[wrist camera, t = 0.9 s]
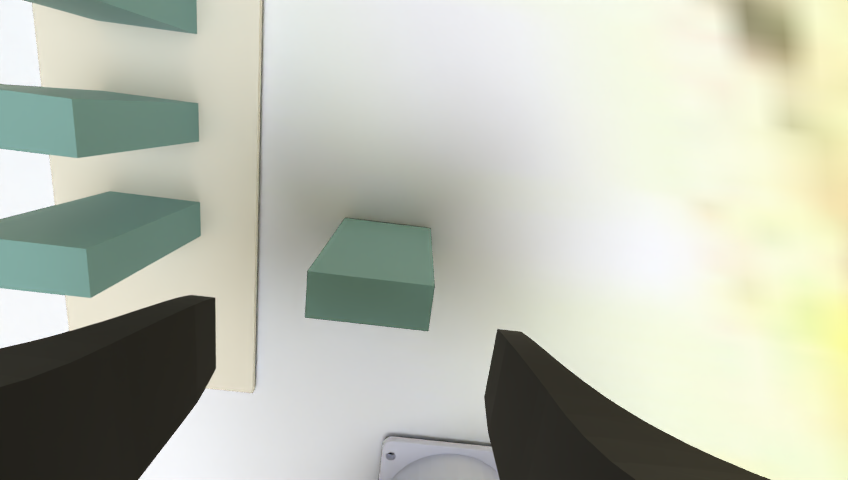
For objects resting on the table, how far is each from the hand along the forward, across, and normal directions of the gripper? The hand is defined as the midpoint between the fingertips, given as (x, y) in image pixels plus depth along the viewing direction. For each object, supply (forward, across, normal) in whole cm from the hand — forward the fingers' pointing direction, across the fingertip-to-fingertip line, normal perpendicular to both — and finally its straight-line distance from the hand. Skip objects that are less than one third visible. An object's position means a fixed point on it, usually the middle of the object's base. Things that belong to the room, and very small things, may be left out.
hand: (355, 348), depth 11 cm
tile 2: (+10, +10, 0) cm, 14 cm away
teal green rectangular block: (+10, 0, 0) cm, 10 cm away
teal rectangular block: (+10, +10, -4) cm, 15 cm away
